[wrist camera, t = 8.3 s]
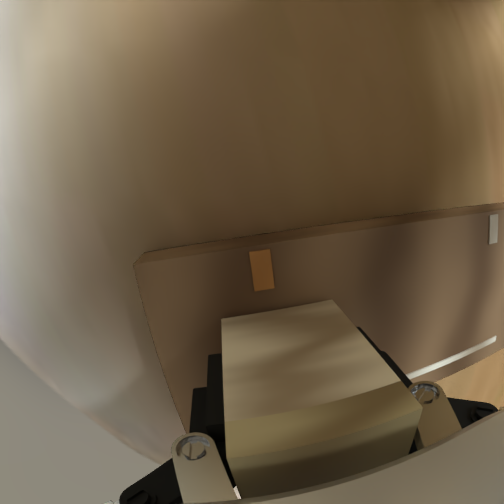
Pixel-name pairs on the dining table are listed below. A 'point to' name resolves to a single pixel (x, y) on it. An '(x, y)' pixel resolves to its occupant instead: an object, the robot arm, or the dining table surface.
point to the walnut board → (337, 289)
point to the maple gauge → (308, 400)
